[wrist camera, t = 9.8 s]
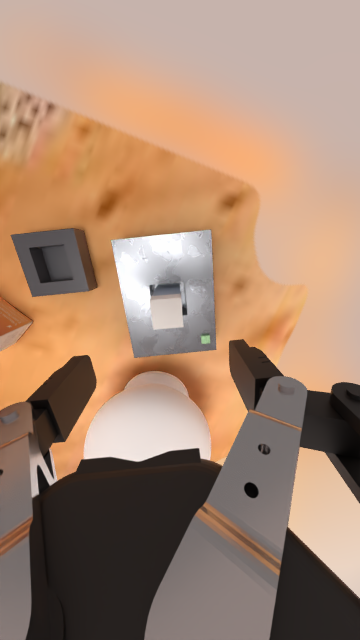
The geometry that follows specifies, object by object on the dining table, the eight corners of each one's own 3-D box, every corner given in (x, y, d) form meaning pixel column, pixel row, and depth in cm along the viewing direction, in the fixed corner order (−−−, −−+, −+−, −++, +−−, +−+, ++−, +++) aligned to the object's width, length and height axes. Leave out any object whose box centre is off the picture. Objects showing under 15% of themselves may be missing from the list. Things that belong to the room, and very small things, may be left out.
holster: (27, 236, 28) (10, 234, 25) (83, 230, 27) (73, 228, 25) (46, 292, 30) (32, 296, 27) (97, 287, 30) (89, 291, 27)
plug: (158, 284, 29) (149, 300, 20) (179, 282, 29) (181, 297, 20) (160, 305, 30) (153, 329, 21) (181, 303, 30) (183, 327, 21)
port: (121, 242, 28) (109, 239, 23) (205, 233, 28) (211, 229, 23) (140, 342, 33) (133, 359, 28) (210, 335, 33) (217, 351, 28)
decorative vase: (100, 361, 34) (-68, 602, 11) (201, 354, 34) (257, 581, 11) (117, 436, 40) (33, 701, 16) (203, 431, 40) (243, 687, 16)
